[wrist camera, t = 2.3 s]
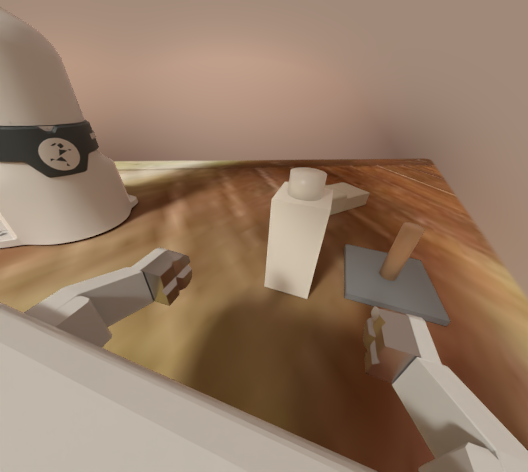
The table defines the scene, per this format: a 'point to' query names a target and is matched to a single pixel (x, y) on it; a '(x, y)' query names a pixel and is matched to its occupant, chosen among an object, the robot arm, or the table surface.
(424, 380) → the robot arm
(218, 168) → the table surface
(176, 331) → the table surface
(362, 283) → the peg stand
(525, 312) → the table surface
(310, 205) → the tapered lotion bottle
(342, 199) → the electrical outlet
